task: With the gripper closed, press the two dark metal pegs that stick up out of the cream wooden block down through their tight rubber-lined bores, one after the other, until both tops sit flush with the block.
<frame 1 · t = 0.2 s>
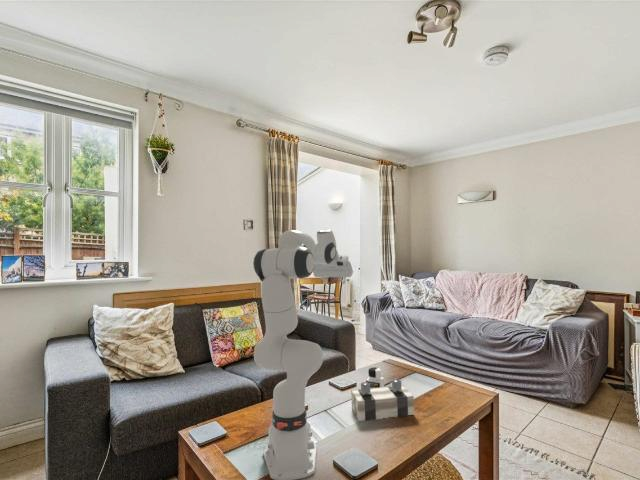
hand: (335, 283, 174), 54 cm above the table, tool tilted 30°, fingers open, 8 cm apart
peg 1: (365, 392, 147), point 9 cm above the table, slide at 0.0 cm
peg 2: (396, 389, 149), point 9 cm above the table, slide at 0.0 cm
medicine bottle: (375, 393, 167), on the table
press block: (382, 411, 148), on the table
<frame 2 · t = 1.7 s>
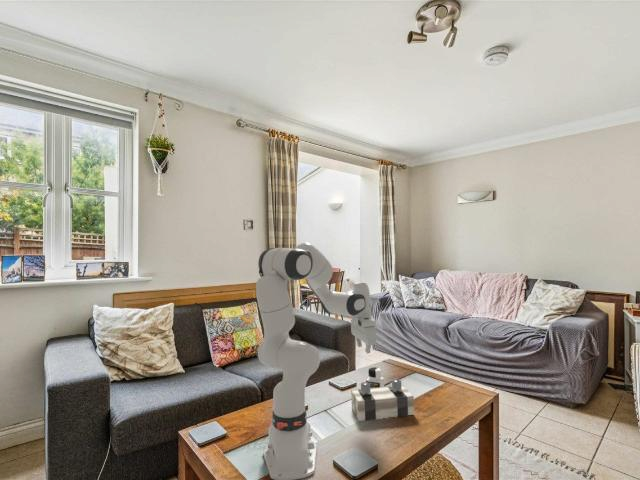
hand: (363, 349, 151), 26 cm above the table, tool pointing down, fingers open, 8 cm apart
nothing on the table moved.
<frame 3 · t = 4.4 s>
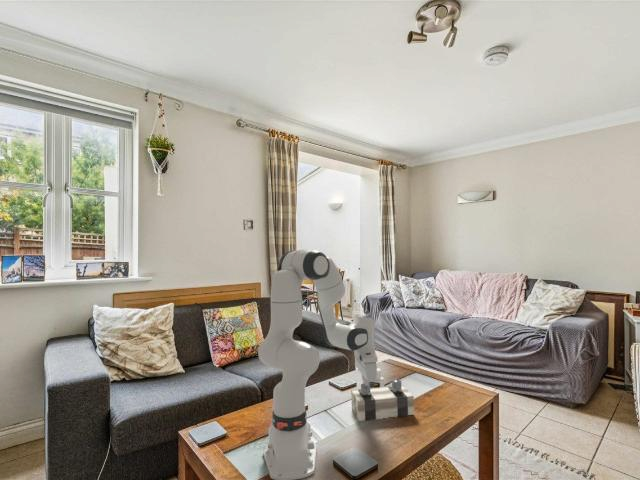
hand: (365, 384, 147), 12 cm above the table, tool pointing down, fingers closed, pressing on peg 1
peg 1: (365, 393, 147), point 8 cm above the table, slide at 0.5 cm, touching gripper
everything else where it was.
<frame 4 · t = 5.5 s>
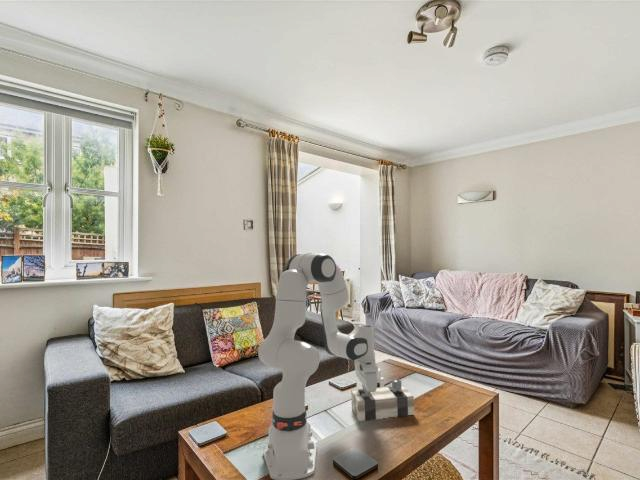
hand: (366, 394, 147), 8 cm above the table, tool pointing down, fingers closed, pressing on peg 1
peg 1: (366, 402, 147), point 4 cm above the table, slide at 4.5 cm, touching gripper
everything else where it was.
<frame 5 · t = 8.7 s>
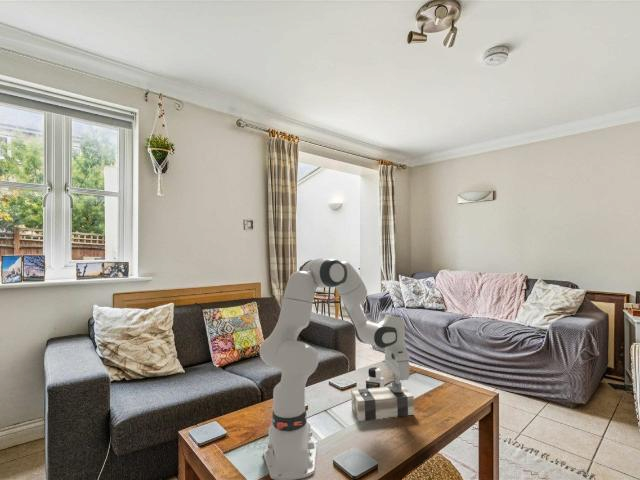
hand: (396, 382, 149), 12 cm above the table, tool pointing down, fingers closed, pressing on peg 2
peg 1: (366, 402, 147), point 4 cm above the table, slide at 4.5 cm
peg 2: (396, 391, 149), point 8 cm above the table, slide at 0.9 cm, touching gripper
everything else where it was.
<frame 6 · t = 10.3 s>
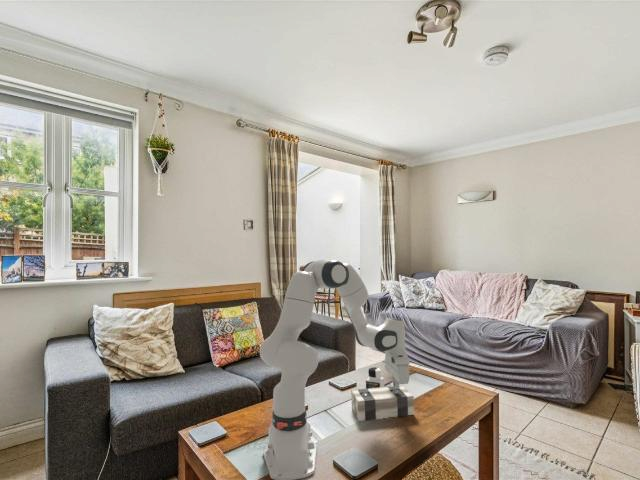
hand: (396, 387, 149), 10 cm above the table, tool pointing down, fingers closed
peg 2: (397, 399, 149), point 4 cm above the table, slide at 4.5 cm
everything else where it was.
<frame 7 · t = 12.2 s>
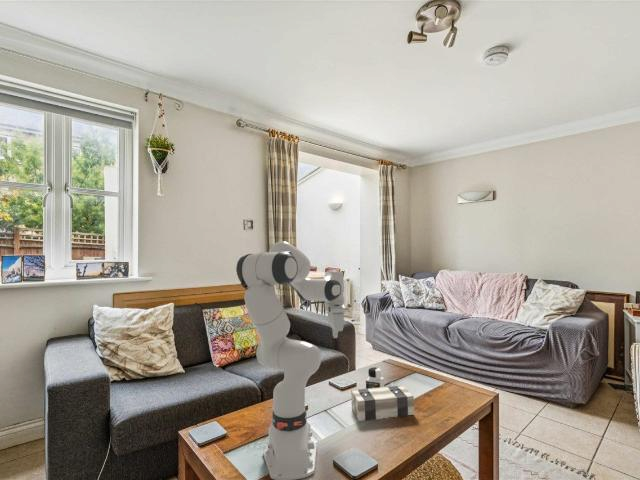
hand: (335, 337, 153), 31 cm above the table, tool pointing down, fingers closed
nothing on the table moved.
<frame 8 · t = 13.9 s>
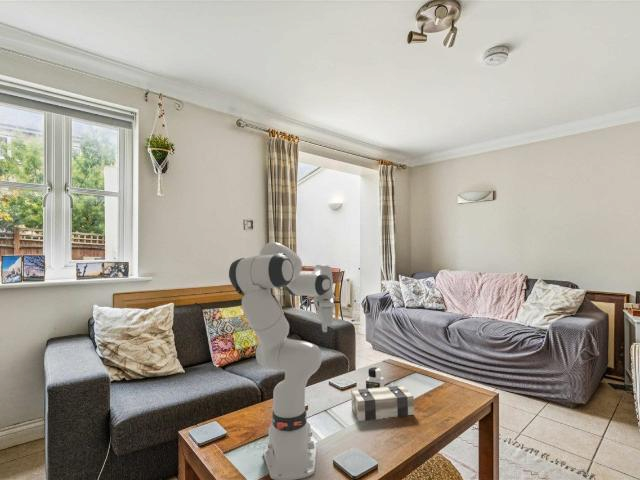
hand: (324, 331, 153), 34 cm above the table, tool pointing down, fingers closed
nothing on the table moved.
at the end: peg 1 slide at 4.5 cm; peg 2 slide at 4.5 cm; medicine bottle moved 0.2 cm from its start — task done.
